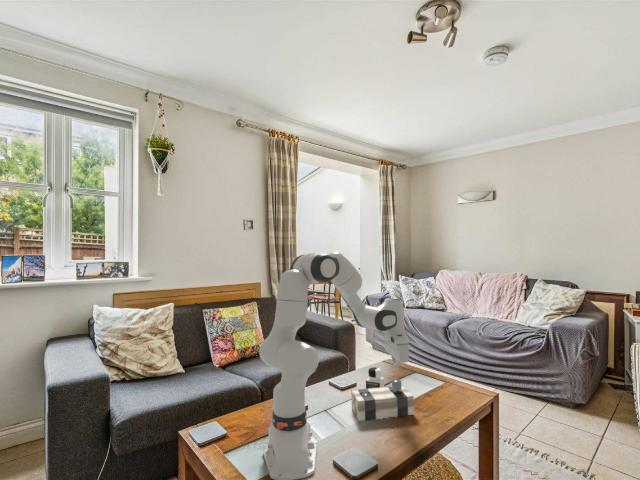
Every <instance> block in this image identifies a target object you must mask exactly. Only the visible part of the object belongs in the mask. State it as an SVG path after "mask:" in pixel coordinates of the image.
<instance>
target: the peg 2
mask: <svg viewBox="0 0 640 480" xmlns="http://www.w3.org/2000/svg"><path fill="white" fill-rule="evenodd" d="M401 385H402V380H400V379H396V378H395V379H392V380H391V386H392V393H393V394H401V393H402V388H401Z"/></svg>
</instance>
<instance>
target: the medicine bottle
mask: <svg viewBox="0 0 640 480" xmlns="http://www.w3.org/2000/svg"><path fill="white" fill-rule="evenodd" d="M367 370H368V377H367V379H366V380H365V389H368V388H379V387H385V377H382V370H381V368H378V367H370V368H369V369H367Z"/></svg>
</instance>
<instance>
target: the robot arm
mask: <svg viewBox="0 0 640 480" xmlns="http://www.w3.org/2000/svg"><path fill="white" fill-rule="evenodd" d="M328 282H331V283H332V285H334V287H335V288H336V289H337V291H338V292H339V295H340V297H341V298H342V299H343V301H344V302H345V303H346V305H347V307H348V308H349V309H350V311H351V313H352V315H353V318H354V321H355V324H356V325H357V326H359V327H360V328H365V329H370V330H373V331H378V332H384V336H383V337H384V338H383V340H384V341H383V342H384V343H383V347H384V351H385V352H387V353H388V354H389V355H390V357H391V360H392V367H394V368H395V369H396V368H397V369H398V368H400V364H405V363H408V362H409V358H410V356H409V355H410V353H409V352H410V349H409V344H410V338H409V337H408V335H407V332H406V328H405V323H404V322H405V309H404V304H403V301H402V300H401V299H398V298H393V297H386V298H384V301H383V302H382V303H381V304H380V305H378V306H371V305H368V304H366V303H364V302H363V301H362V299H361V297H360V296H359V295H358V292H359V291H360V290H361V287H362V285H363V278H362V276H361V274H360V273H359V271H358V269H357V268H356V267H355V266H354V264H353V263H352V262H351V261H350V260H349V259H348V258H347V257H345V255H344V254H342V253H341V252H338V251H332V252H330V253H327V254H326V253H307V254H301V255H299V256H297V257H295V258H294V260H293V261H292V262H291V266H290V267H289V269H287V270H285V271H284V272H283V273H282V274H281V276H280V279H279V283H278V287H277V296H276V304H275V305H276V306H275V314H274V315H275V316H274V322H273V324H272V328H271V331H270V332H269V334H268V336H267V337H266V338H264V340H263V341H262V342H261V344H260V347H259V350H258V351H259V353H258V354H259V357H260V360H261V361H263V362H264V363H265V364H266V365H267V366H268V367H271V368H274V369H276V370H279V371H281V379H280V382H278V383H277V384H276V385H275V386H274V388H273V392H272V394H273V395H272V396H273V397H272V398H273V399H272V400H273V401H272V402H273V410H272V416H271V419H272V423H271V425H270V427H269V428H268V446H267V447H266V448H265V449H264V450H263V452H262V453H263V454H262V455H263V458H264V461H265V465H266V468H267V471H268V474H269V477H270V479H272V480H300V479H304V478H307V477H310V476H312V475H314V474H315V472H316V464H317V453H318V446H317V444H315V442H314V441H313V440H312V437H313V432H312V429H311V424H310V423H309V422H308V420H307V417H308V416H307V408H306V406H305V405H306V402H305V401H306V395H305V394H306V393H305V392H306V385H307V382H308V379H309V377H310V376H312V374H314V373H315V372H316V370H317V368H318V366H319V361H320V360H319V352H318V351H317V349H316V348H315V347H314V346H311V345H310V344H308V343H306V342H304V341H298V340H296V335H297V332H298V330H299V329H300V328H302V327H303V326H304V325H305V324H306V320H307V309H308V290H309V287H310V285H311V284H317V283H320V284H324V283H328Z"/></svg>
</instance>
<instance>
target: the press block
mask: <svg viewBox="0 0 640 480" xmlns="http://www.w3.org/2000/svg"><path fill="white" fill-rule="evenodd" d="M401 388H402V393H401V394H393V393H392V385H391V386H384V387H379V388H368V389H366V388H359V389H358V388H357V389H351V391H350V392H351V409H352V411H353V413H354V415H355V417H356V419H357V420H358V422H365V421H374V420H383V418H385V419H389V418H388V417H395V418H398V417H397V416H404V417H409V416H408V415H414V416H415V403H414V401H415V400H414V395H413V394H412V393H411V392H410V391H409V390H408V389H407V388H406V387H405V386H404V385H402V384H401ZM362 393H370V394H371V396H369V397H362V396H361V394H362Z"/></svg>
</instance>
